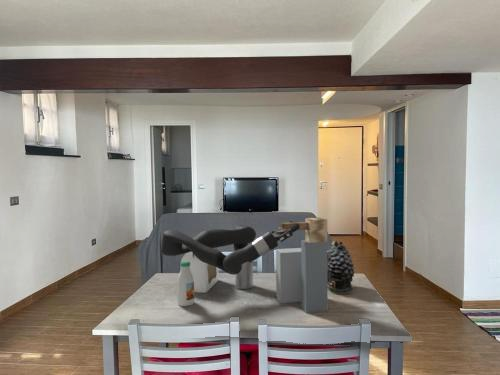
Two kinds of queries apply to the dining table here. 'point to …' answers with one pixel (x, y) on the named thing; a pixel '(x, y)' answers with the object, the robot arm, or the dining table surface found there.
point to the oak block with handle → (311, 229)
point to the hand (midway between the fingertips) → (295, 224)
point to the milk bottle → (185, 285)
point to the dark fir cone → (339, 269)
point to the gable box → (201, 273)
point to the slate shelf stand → (303, 276)
